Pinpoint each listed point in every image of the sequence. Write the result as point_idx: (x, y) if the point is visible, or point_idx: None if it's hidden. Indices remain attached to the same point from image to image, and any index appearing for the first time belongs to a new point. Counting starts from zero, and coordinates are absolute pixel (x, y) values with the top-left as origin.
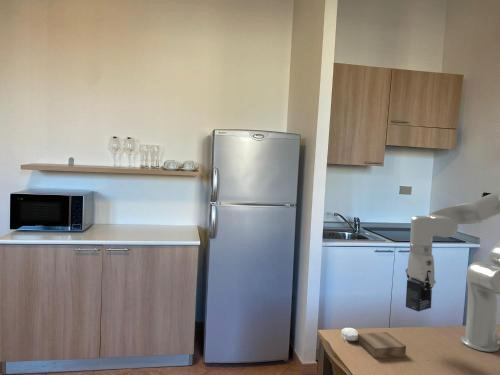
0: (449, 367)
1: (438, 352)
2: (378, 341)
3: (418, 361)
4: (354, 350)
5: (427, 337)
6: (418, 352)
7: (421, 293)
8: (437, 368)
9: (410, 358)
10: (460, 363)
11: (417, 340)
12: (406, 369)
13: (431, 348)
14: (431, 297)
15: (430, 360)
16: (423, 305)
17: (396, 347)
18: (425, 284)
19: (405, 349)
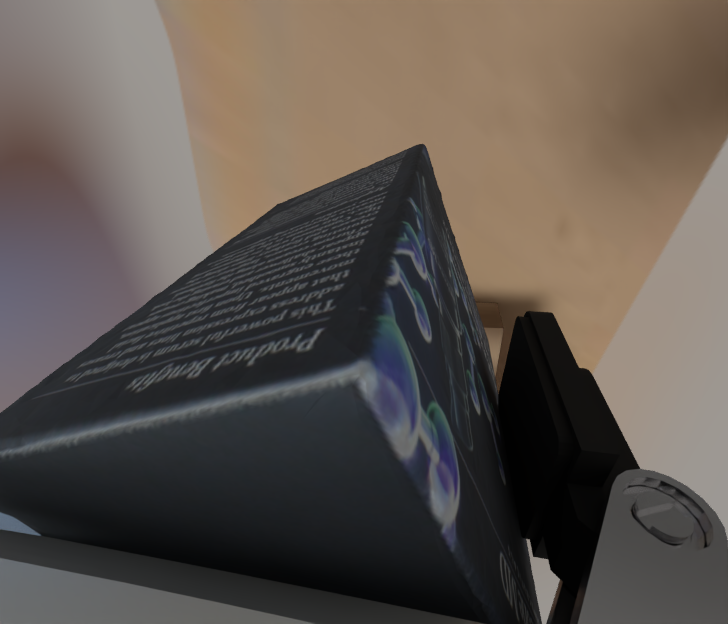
0: (676, 164)
1: (512, 101)
2: None
3: (556, 279)
4: None
5: (313, 25)
6: (481, 222)
7: (510, 477)
8: (649, 236)
9: (520, 295)
10: (680, 48)
11: (352, 133)
12: (590, 361)
13: (457, 112)
14: (421, 177)
15: (571, 217)
16: (474, 310)
17: (496, 366)
18: (515, 585)
19: (501, 321)
